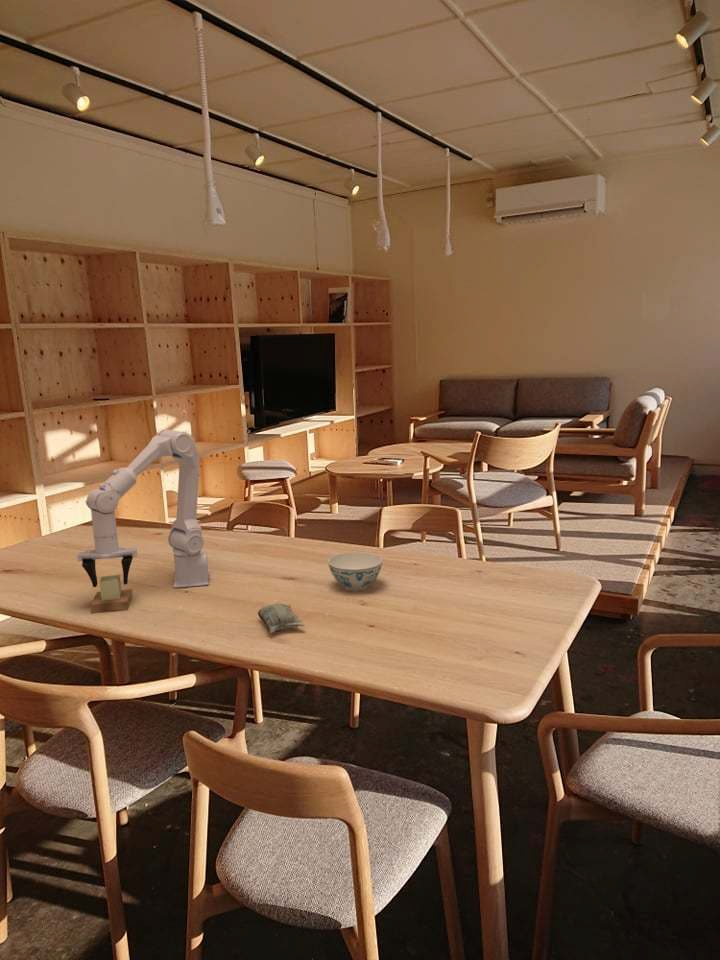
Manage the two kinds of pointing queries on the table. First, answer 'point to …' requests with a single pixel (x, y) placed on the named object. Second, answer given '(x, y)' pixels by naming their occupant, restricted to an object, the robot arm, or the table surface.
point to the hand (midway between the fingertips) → (110, 584)
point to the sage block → (110, 587)
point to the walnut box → (112, 603)
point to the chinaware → (355, 569)
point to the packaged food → (279, 617)
